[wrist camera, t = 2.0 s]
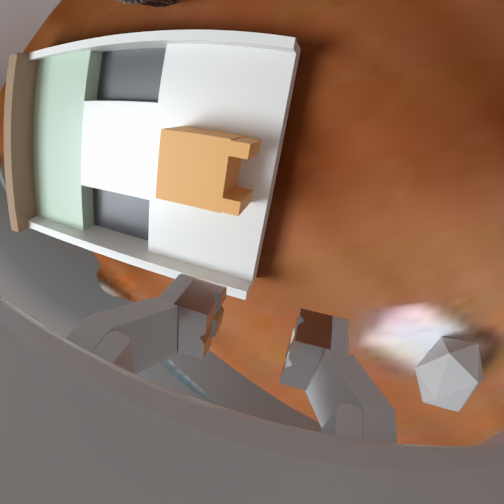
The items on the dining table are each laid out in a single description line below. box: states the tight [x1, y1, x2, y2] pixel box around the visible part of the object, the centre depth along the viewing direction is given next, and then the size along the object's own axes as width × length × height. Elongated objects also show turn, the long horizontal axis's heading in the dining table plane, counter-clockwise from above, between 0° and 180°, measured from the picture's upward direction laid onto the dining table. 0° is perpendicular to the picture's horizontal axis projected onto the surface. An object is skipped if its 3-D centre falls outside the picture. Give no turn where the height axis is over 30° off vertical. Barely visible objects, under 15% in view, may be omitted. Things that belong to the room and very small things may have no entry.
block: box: [156, 126, 262, 216], centre depth 25 cm, size 6×8×4 cm
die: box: [415, 337, 484, 412], centre depth 29 cm, size 8×9×10 cm
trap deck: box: [4, 30, 301, 300], centre depth 28 cm, size 24×34×6 cm
